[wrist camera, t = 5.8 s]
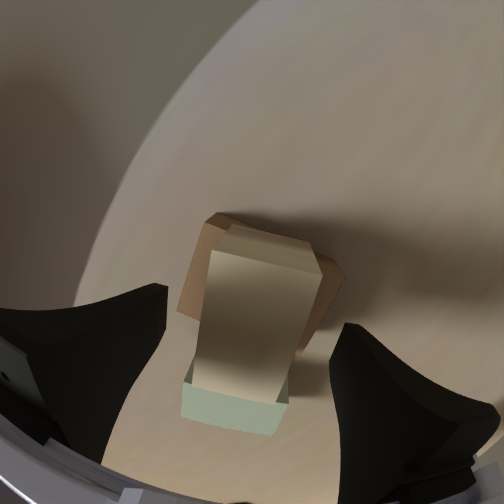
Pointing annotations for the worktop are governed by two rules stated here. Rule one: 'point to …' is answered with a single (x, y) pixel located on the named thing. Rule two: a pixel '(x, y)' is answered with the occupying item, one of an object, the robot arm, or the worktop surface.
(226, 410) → the sage brick
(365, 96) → the worktop surface
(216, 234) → the walnut slab
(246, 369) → the maple brick
